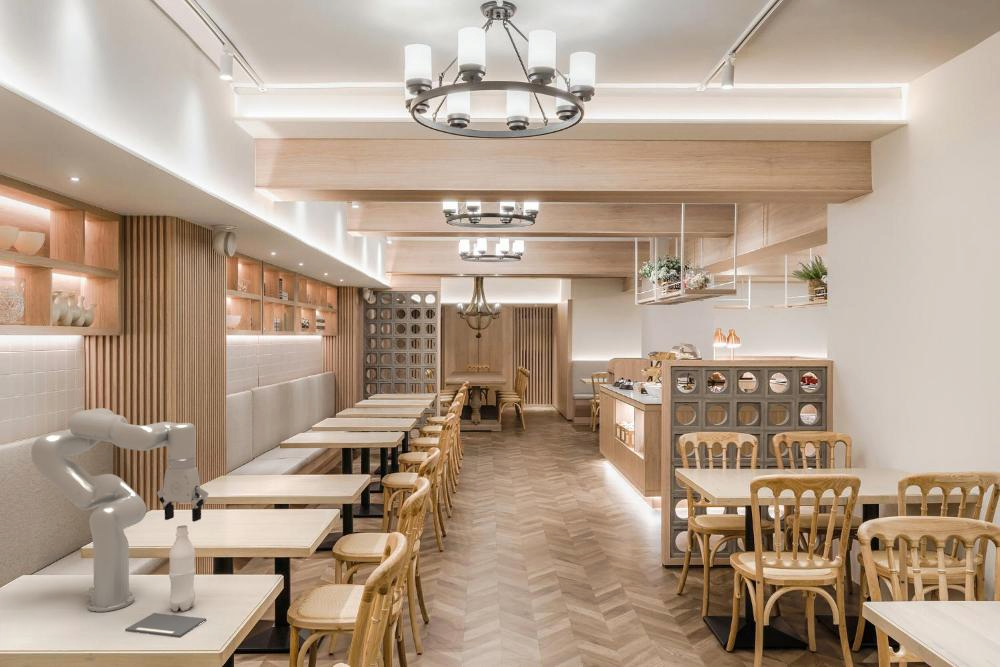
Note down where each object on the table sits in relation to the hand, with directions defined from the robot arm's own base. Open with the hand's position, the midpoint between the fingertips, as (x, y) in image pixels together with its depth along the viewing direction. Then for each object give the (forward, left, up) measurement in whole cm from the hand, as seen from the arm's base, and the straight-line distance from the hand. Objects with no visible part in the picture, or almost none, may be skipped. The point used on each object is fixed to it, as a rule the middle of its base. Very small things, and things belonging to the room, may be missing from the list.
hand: (182, 519), depth 201 cm
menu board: (+4, -12, -27) cm, 30 cm away
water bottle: (0, 0, -27) cm, 27 cm away
